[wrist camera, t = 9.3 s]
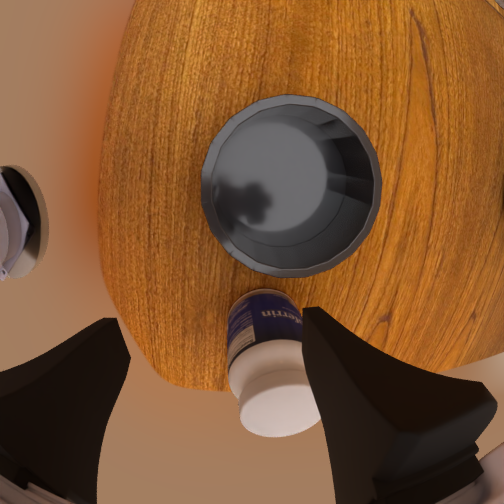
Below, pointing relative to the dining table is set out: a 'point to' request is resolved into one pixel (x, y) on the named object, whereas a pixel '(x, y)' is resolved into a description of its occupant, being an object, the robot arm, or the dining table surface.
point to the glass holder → (500, 3)
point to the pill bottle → (269, 365)
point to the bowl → (291, 186)
